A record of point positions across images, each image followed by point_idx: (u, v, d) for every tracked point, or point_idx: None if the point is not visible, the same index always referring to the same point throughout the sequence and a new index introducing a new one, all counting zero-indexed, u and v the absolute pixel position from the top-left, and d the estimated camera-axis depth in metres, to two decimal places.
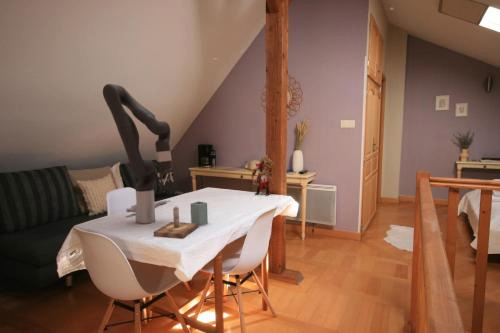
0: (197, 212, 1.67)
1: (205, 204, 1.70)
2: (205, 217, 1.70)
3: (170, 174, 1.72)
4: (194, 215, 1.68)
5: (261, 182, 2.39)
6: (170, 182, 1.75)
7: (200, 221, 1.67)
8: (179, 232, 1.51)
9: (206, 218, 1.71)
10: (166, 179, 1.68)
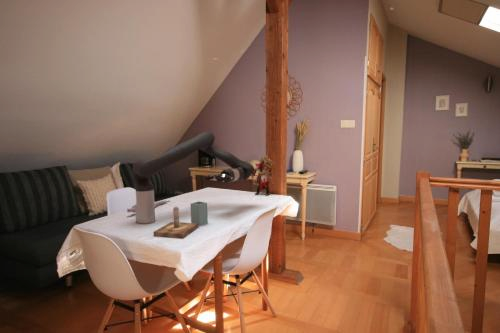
0: (197, 212, 1.67)
1: (205, 204, 1.70)
2: (205, 217, 1.70)
3: None
4: (194, 215, 1.68)
5: (261, 182, 2.39)
6: (210, 178, 1.82)
7: (200, 221, 1.67)
8: (179, 232, 1.51)
9: (206, 218, 1.71)
10: (222, 181, 1.80)
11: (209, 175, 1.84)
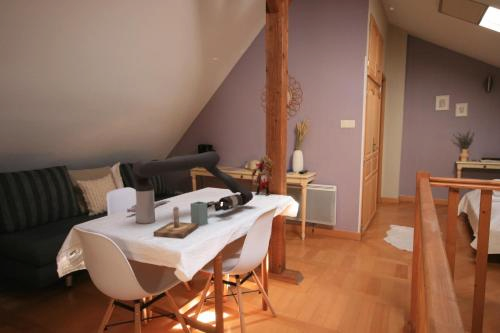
0: (197, 212, 1.67)
1: (205, 204, 1.70)
2: (205, 217, 1.70)
3: None
4: (194, 215, 1.68)
5: (261, 182, 2.39)
6: (208, 206, 1.82)
7: (200, 221, 1.67)
8: (179, 232, 1.51)
9: (206, 218, 1.71)
10: None
11: (207, 203, 1.84)
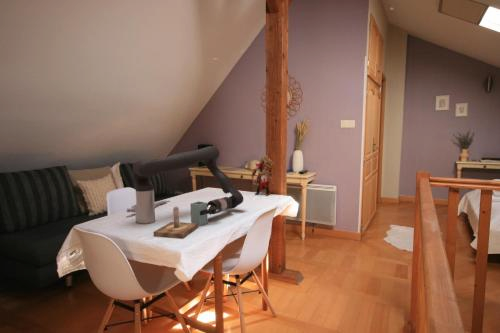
0: (197, 212, 1.67)
1: (205, 204, 1.70)
2: (205, 217, 1.70)
3: None
4: (194, 215, 1.68)
5: (261, 182, 2.39)
6: None
7: (200, 221, 1.67)
8: (179, 232, 1.51)
9: (206, 218, 1.71)
10: None
11: None
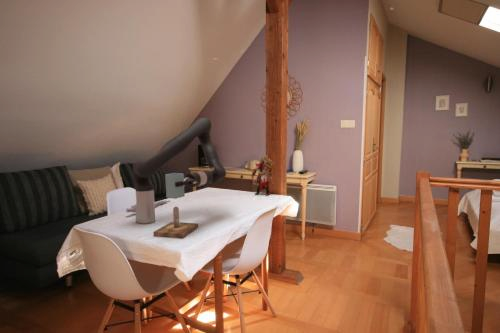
0: (172, 183, 1.52)
1: (181, 175, 1.55)
2: (181, 189, 1.56)
3: None
4: (169, 187, 1.54)
5: (261, 182, 2.39)
6: None
7: (175, 193, 1.53)
8: (179, 232, 1.51)
9: (182, 190, 1.56)
10: None
11: None
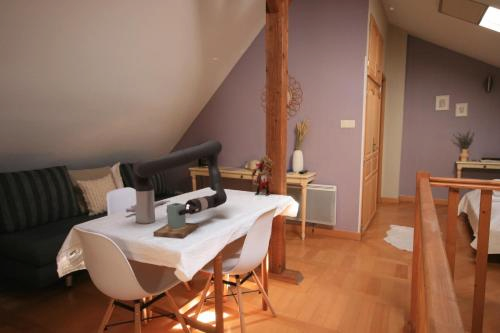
0: (174, 214, 1.54)
1: (183, 206, 1.57)
2: (183, 220, 1.57)
3: None
4: (170, 218, 1.55)
5: (261, 182, 2.39)
6: None
7: (177, 224, 1.54)
8: (179, 232, 1.51)
9: (183, 220, 1.58)
10: None
11: None
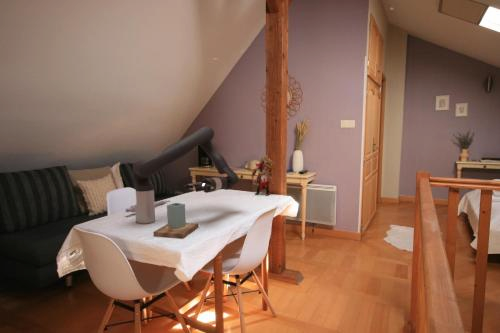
0: (174, 214, 1.54)
1: (183, 206, 1.57)
2: (183, 220, 1.57)
3: None
4: (170, 218, 1.55)
5: (261, 182, 2.39)
6: (189, 187, 1.70)
7: (177, 224, 1.54)
8: (179, 232, 1.51)
9: (183, 220, 1.58)
10: None
11: (188, 184, 1.72)
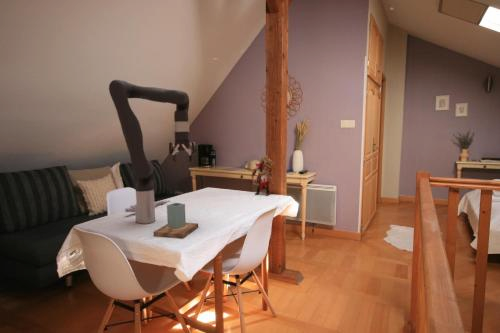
0: (174, 214, 1.54)
1: (183, 206, 1.57)
2: (183, 220, 1.57)
3: None
4: (170, 218, 1.55)
5: (261, 182, 2.39)
6: (175, 155, 1.70)
7: (177, 224, 1.54)
8: (179, 232, 1.51)
9: (183, 220, 1.58)
10: None
11: (171, 152, 1.69)
